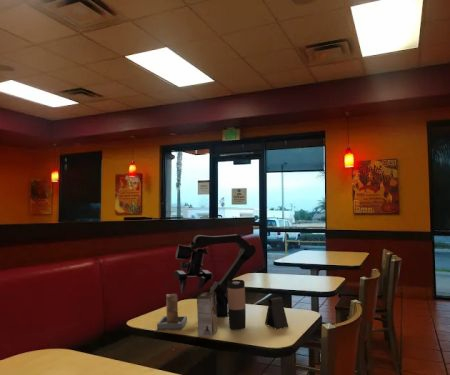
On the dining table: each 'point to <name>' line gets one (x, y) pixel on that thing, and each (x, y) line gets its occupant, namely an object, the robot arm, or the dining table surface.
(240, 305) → the travel mug
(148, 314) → the dining table surface
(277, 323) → the door stopper
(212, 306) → the coffee box
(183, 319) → the tray
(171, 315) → the tan cylinder
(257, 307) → the dining table surface
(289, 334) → the dining table surface
